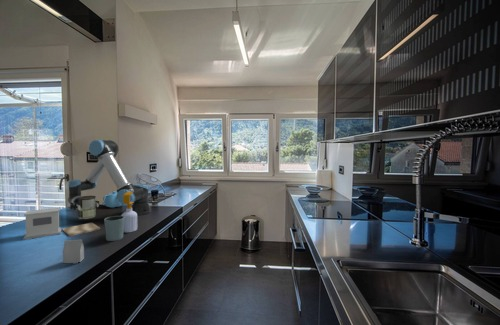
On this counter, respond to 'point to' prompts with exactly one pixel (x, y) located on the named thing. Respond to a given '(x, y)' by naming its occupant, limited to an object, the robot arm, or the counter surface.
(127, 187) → the robot arm
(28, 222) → the label unit
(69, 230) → the pad
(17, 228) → the counter surface
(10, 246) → the counter surface
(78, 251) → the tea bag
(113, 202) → the decorative pot
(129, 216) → the spray bottle
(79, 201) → the coffee can
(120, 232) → the green tapered cup
